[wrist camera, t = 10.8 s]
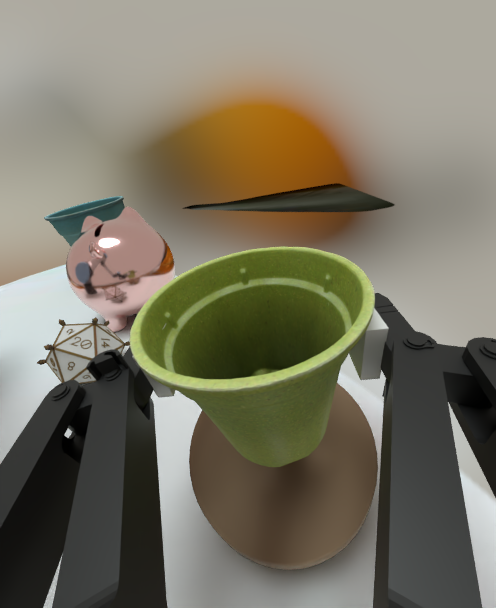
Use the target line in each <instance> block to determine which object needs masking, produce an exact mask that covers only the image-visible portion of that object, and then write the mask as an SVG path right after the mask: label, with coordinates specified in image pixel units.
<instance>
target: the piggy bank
mask: <svg viewBox="0 0 496 608" xmlns="http://www.w3.org/2000/svg"><path fill="white" fill-rule="evenodd" d="M66 272H67V277H68V281H69V284H70V286H71V288H72V290H73V291H74V293H75V294H76V296H77V297H78V298H79V299H80V300H81V301H82V302H83V303H84V304H85V305H87V306H88V307H90V308H91V309H92V310H94V311H95V312H97V313H99V314H100V315H102V316H103V317H104V319H105V321H108V320H109V323H110V324H108V325H107V326H108V328H109V329H110V330H111V331H112V332H117V331H120V330H122V329H123V328H124V327H125V326H126V325H127V317H128V316H131V315H134V314H138V313H139V311H140V310H141V308H142V307H143V306H144V304H145V303H146V302H147V301H148V299H149V298H150V297H151V296H152V295H153V294H155V293H156V292H157V291H158V290H159V289H160V288H161V287H163V286H164V285H166V284H167V283H169V282H170V281H172V280H173V279H174V277H175V264H174V259H173V255H172V252H171V250H170V248H169V246H168V244H167V243H166V241H165V240H164V239H163V238H162V236H161V235H160V234H159V233H158V232H156V231H155V230H154V229H153V228H152V227H151V226H150V225H149V224H148V223H147V222H146V221H145V220H144V219H143V218H142V217H141V216H140V214H139V213H138V212H136V211H135V210H134V209H133V208H131V207H125V208H124V209H123V211H122V213H121V214H120V216H119V217H117V218H116V219H112V220H107V221H104V222H103V221H101V220H100V219H98V218H96V217H94V216H87V217H86V218H85V220H84V222H83V226H82V229H81V232H80V235H79V237H78V238H77V240H76V241H75V242H74V244H73V245H72V247H71V248H70V250H69V253H68V256H67V262H66Z"/></svg>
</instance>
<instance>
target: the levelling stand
mask: <svg viewBox="0 0 496 608" xmlns="http://www.w3.org/2000/svg"><path fill="white" fill-rule="evenodd" d="M189 464H190V476H191V481H192V486H193V490H194V493H195V496H196V499H197V502H198V504H199V506H200V508H201V510H202V512H203V514H204V516H205V517H206V518H207V520H208V521H209V523H210V524H211V525H212V527H213V528H214V529H215V531H216V532H217V533H218V534H219V535H220V536H221V537H222V538H223V539H224V540H225V541H226V542H227V543H228V545H229V546H230V547H232V548H233V549H234V550H236V551H237V552H238V553H239V554H241V555H242V556H244V557H246V558H247V559H249V560H251V561H253V562H255V563H257V564H260V565H264V566H267V567H270V568H275V569H284V570H293V569H304V568H308V567H311V566H315V565H318V564H320V563H322V562H324V561H326V560H328V559H330V558H332V557H334V556H335V555H336V554H338V553H339V552H340V551H341V550H343V549H344V548H345V547H346V546H347V545H348V544H349V543H350V542H351V541H352V539H353V538H354V537H355V536H356V535H357V533H358V531H359V530H360V528H361V526H362V525H363V523H364V521H365V519H366V516H367V514H368V512H369V509H370V506H371V503H372V499H373V495H374V491H375V487H376V482H377V471H378V464H377V451H376V446H375V440H374V437H373V434H372V431H371V428H370V425H369V423H368V421H367V419H366V417H365V415H364V413H363V412H362V410H361V408H360V407H359V405H358V404H357V403H356V401H355V400H354V399H353V398H352V396H351V395H350V394H349V393H348V392H347V391H346V390H345V389H344V388H343V387H341V386H340V385H339V384H338V383H337V384H336V388H335V392H334V397H333V401H332V405H331V410H330V414H329V419H328V423H327V428H326V431H325V434H324V436H323V439H322V440H321V442H320V443H319V445H318V446H317V448H316V449H315V450H314V451H313V452H312V453H311V454H309V455H308V456H306V457H304V458H302V459H299V460H297V461H294V462H292V463H289V464H286V465H284V466H281V467H267V466H263V465H259V464H256V463H254V462H251V461H249V460H248V459H246V458H245V457H243V456H242V455H241V454H240V453H239V452H238V451H237V450H236V449H235V448H234V447H233V445H232V444H231V443H230V442H229V441H228V440H227V438H226V437H225V436H224V435H223V434H222V432H221V431H220V430H219V428H218V427H217V426H216V425H215V424H214V423H213V421H212V420H211V419H210V418H209V417H208V416H207V414H206V413H205V412H204V411H203V410H202V412H201V414H200V416H199V418H198V421H197V423H196V426H195V429H194V432H193V436H192V440H191V446H190V458H189Z"/></svg>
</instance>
